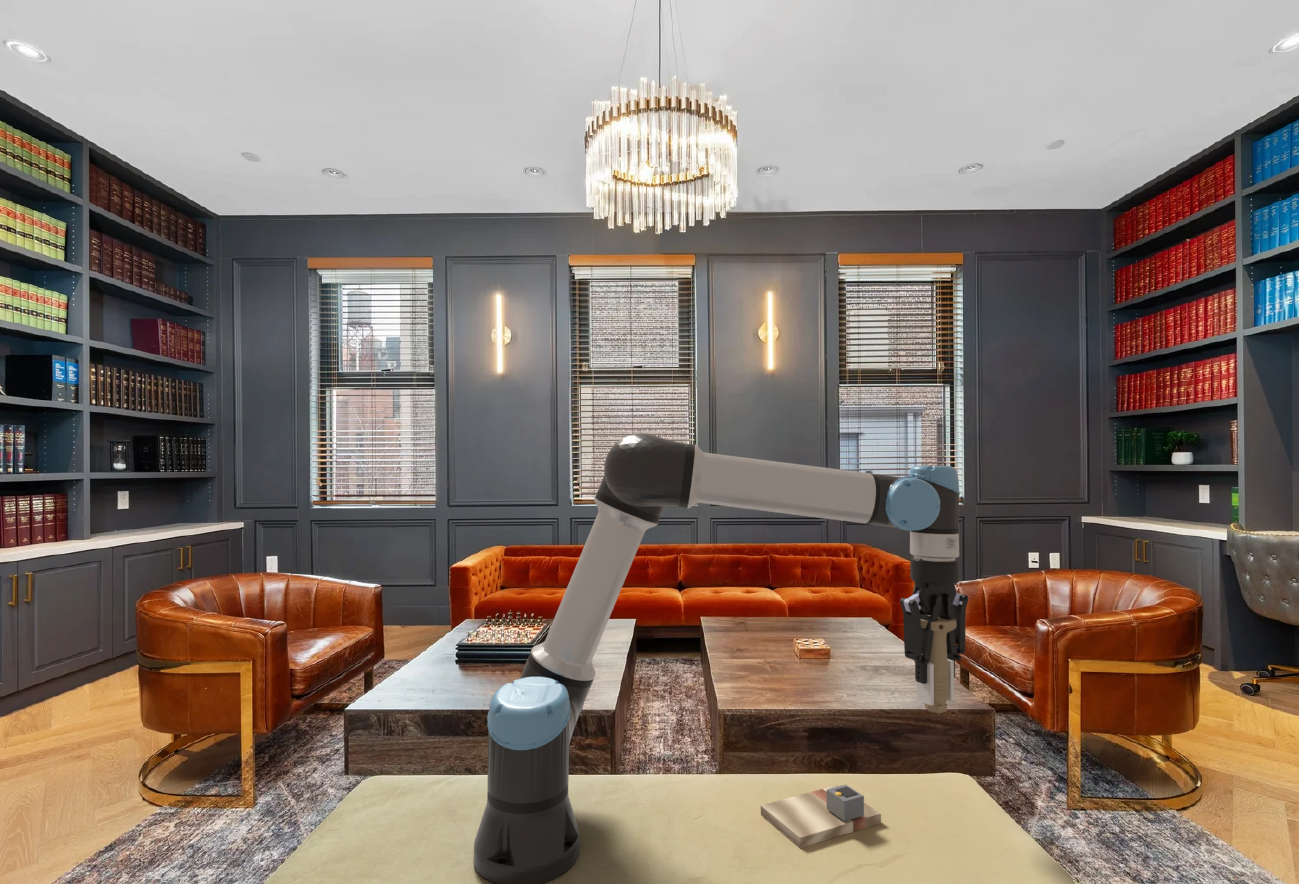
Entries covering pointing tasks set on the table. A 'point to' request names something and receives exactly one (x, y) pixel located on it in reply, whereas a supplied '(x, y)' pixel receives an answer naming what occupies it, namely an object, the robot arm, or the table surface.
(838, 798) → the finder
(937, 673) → the handle
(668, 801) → the table surface
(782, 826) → the plank
